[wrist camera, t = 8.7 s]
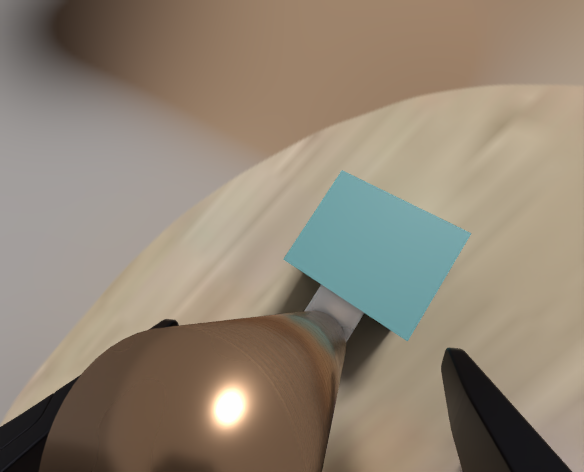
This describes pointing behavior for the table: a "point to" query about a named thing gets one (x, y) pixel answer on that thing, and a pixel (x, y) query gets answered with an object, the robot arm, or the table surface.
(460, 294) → the table surface
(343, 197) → the teal block with slot
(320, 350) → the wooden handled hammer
